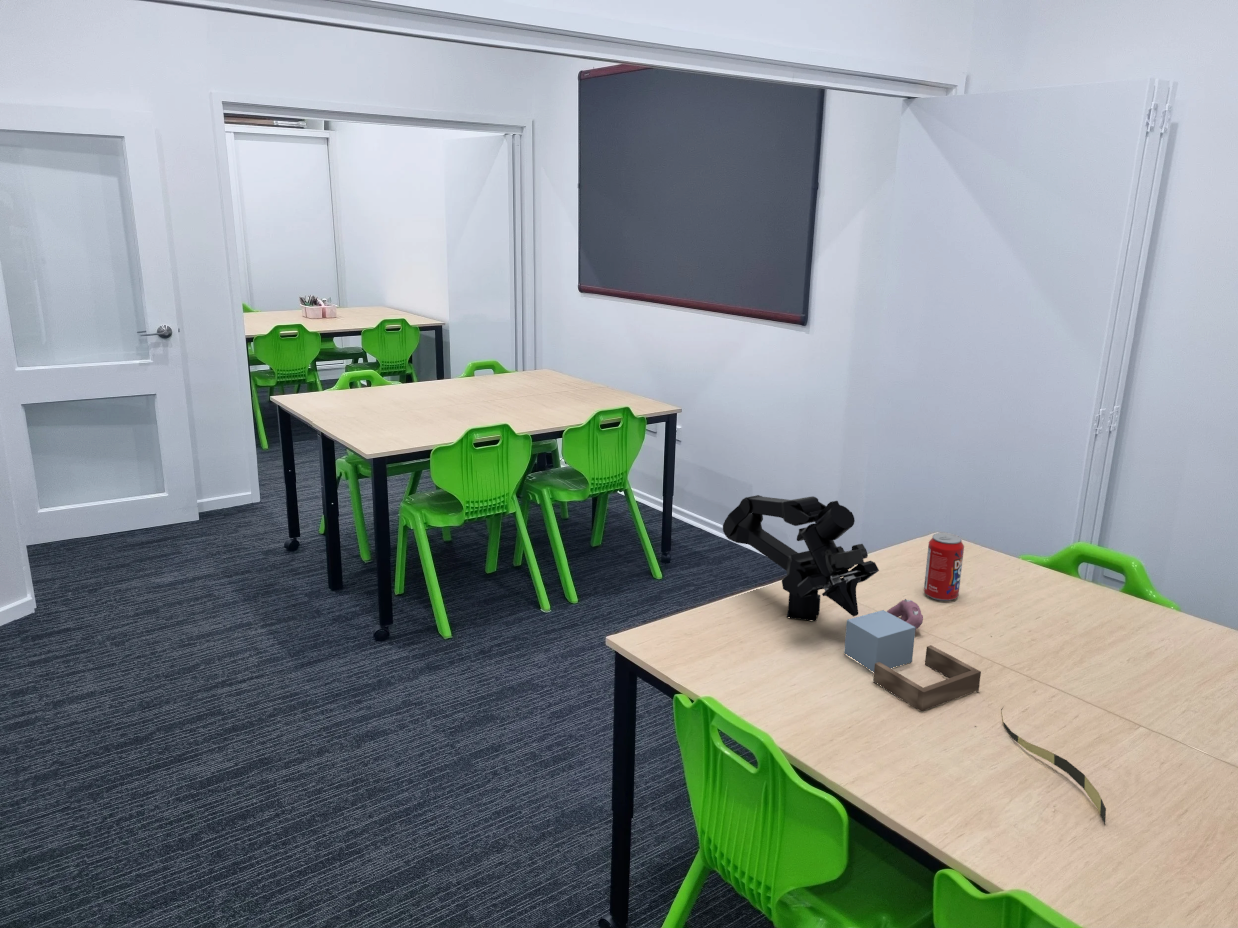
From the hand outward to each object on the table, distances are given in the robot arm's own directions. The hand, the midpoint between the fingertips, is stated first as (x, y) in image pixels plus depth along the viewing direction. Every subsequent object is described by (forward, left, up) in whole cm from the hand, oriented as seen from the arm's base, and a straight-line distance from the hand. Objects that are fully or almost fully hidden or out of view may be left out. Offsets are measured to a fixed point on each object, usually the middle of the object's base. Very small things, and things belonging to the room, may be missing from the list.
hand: (855, 615), depth 186 cm
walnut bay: (+13, -13, -7) cm, 20 cm away
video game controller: (+10, +11, -7) cm, 17 cm away
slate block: (+5, -5, -7) cm, 10 cm away
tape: (+33, -30, -7) cm, 46 cm away
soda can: (+19, +31, -7) cm, 37 cm away
